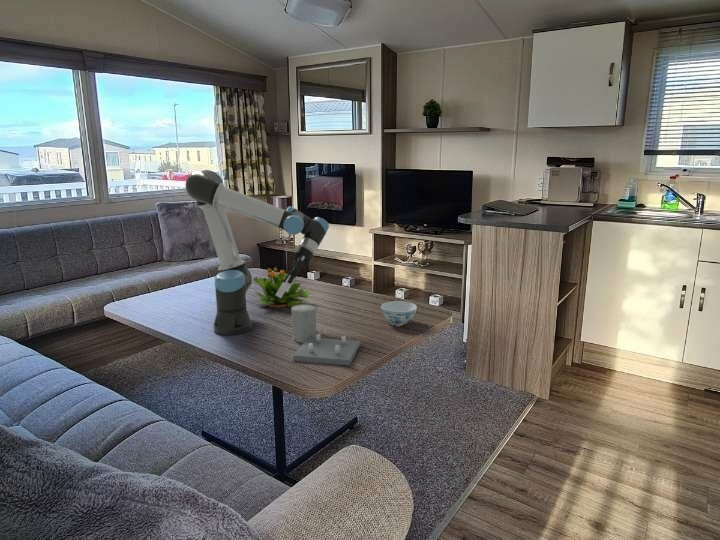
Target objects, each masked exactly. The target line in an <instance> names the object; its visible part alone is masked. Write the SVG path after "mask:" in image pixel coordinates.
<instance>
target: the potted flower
mask: <svg viewBox="0 0 720 540" xmlns="http://www.w3.org/2000/svg"><path fill="white" fill-rule="evenodd" d="M278 271H279V272H278ZM266 273H267V277H268V278H266V277H253V278H252V282H254V283H257V284H258V285H259V287H261V288H262V291H263V294H262V293H260V292H258V291H256V290H255V289H252V291H253V292H254V293H255V294H256V295H258V296H259V297H260V299H259V303H260V304H266V305H269V307H270V308H274V307H275V308H277V309H279V308H280V307H281V308H286V307H290V308H292V307H293V306H295V305H300V304H301V303H304V302H303V299H300V298H306V299H308V297H309V295H310V293H311V291H309V290H307V289H305V290H304V289H303V288H300V286H301V282H298V283H297V281H295V280H296V279H297V277H295V280H294V282H293V284H292V285H291V287H290V289H289V291H288V292H286V291H285V293H284V294H283V296H282V298H279V297H277V296H276V293H277V291H278V290H279V288H280V286H281V285H282V283H283V280H284V279H285V278H286V276H287V274H288V273H286V270H284V269H281V270H278V268H277V267H274V268H273V270H272V268H267V270H266ZM299 288H300V290H299Z"/></svg>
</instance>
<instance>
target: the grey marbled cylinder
mask: <svg viewBox="0 0 720 540" xmlns="http://www.w3.org/2000/svg"><path fill="white" fill-rule="evenodd" d="M290 308H291V309H290V310H291V335H292V337H291V340H292V341H294V342H297V343H304V342H305V341H306V340H307V338H308V337H313V338H316V334H317V307H316V306H315V305H314V304H307V303H306V304H303V303H302V304H301V303H300V304H298V305H295V306H293V307H290Z"/></svg>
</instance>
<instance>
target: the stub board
mask: <svg viewBox="0 0 720 540" xmlns="http://www.w3.org/2000/svg"><path fill="white" fill-rule="evenodd" d="M359 346H360V347H361V341H360V340H353V339H347V336H346V335H341V339H340V338H339V339H336V338H323V337H322V336H321V333H316V338H313V337H308V338H307V340H306V341H305V342H302V343H301V345H300V347H299V348H297V351H295V353H294V354H293V355H292V358H293V359H292V361H294V362H301V363H302V362H303V363H305V362H306V363H314V364H326V365H338V366H339V365H340V366H350V365H351V363H352V361H353V360H354V357H356V354H357V352H358V351H357V350H359V349H358V348H360V347H359Z"/></svg>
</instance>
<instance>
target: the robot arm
mask: <svg viewBox="0 0 720 540" xmlns="http://www.w3.org/2000/svg"><path fill="white" fill-rule="evenodd" d="M185 191H186V193H187V194H188V195H189V197H190V198H191V199H193V200H194V201H195V202H196V206H197V207H198V208H200V209H201V210H202V211H203V214H204V218H205V221H206V223H207V226H208V230H209V233H210V236H211V239H212V242H213V245H214V249H215V252H216V256H217V258H218V261H219V266H218V268H217V269H218V270H217V271H218V273H217V274H216V275H215V277H214V286H215V287H214V290H215V302H216V315H215V318H214V321H213V322H214V323H213V332H214V333H216V334H219V335H224V336H231V335H232V336H233V335H241V334H243V333H246V332H249V331H250V330H252V328H253V327H252V320H251V318H250V314H249V313H248V310H247V295H246V294H247V292H248V291H249V289H250V288H251V286H252V282H253V278H252V277H253V276H252V273H251V271H250V269H248V268H247V264H246V261H245V260H243V258H242V259H241V257H240V254H239V250H238V248H237V247H238V246H237V245H236V241H235V237H234V234H233V231H232V228H231V225H230V222H229V218H228V215H227V211H226V209H228V210H231V211H233V212H236V213H239V214H241V215H244V216H247V217H249V218H250V219H254V220H257V221H260V222H261V223H262V222H263V223H265V224H267V225H270V226H273V227H276V228H278V229H280V230H283V231H285V232H286V233H287V234H289V235H291V236H292V235H293V236H294V235H295V236H296V235H298V234H301V235H303V237H302V239H301V240H300V241H299V244H298V246H297V247H296V249H295V250H294V252H293V256H294V257H295V258H296V259H295V260H294V261H293V262H292V264H291V267H290V269H289V271H288V272H287V273H286V274H287V276H286V278H285V279H284V280H283V283H282V285H281V286H280V288H279V290H278V291H277V293H276V296H277V297H279V298H282V296H283V294H284V293H285V291H286V292H288V291H289V289H290V287H291V285H292V284H293V282H294V283H295V281H294V280H296V278H297V276H298V275H300V272H301V270H302V268H303V267H304V266H305V264H309V263H310V262H311V261H312V259H313V258H314V256H315V254H316V252H318V251H319V249H318V248H319V246H320V245H321V243H322V242H323V239H324V238H325V236H326V235H327V233H328V230H329V227H330V225H329V223H328V221H327V220H325V219H324V218H323V217H322V218H321V217H319V216H316V217H314V218H310V217H309V216H307V215H306V214H304V213H303V212H301V210H298V209H297V208H295V207H293V206H291V205H290V206H288V207H287V208H286V209H283V208H280V207H278V206H275V205H273V204H270V203H267V202H264V201H263V200H260V199H258V198H254V197H252V196H249V195H247V194H244V193H241V192H240V191H236V190H234V189H232V188H229V187H226V186H225V185H224V181H223V179H222V177H221V175H219V174H218V173H217V172H215V171H213V170H210V169H204V170H198V171H193V172H192V173H191V174H189V175H188V176H187V178H186V181H185ZM225 208H226V209H225ZM295 277H296V278H295ZM293 285H294V284H293Z"/></svg>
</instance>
